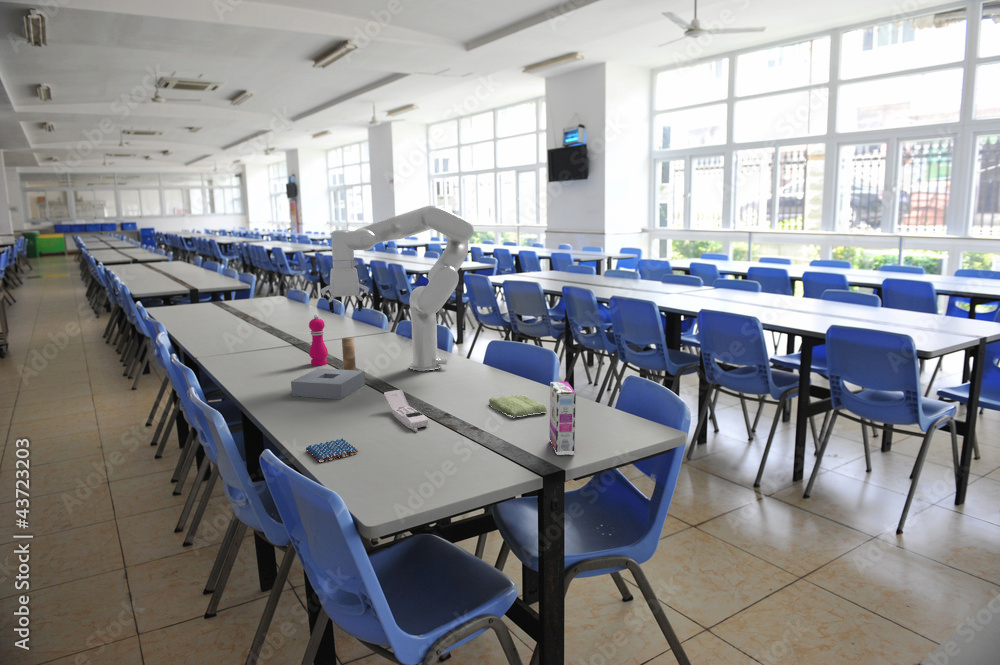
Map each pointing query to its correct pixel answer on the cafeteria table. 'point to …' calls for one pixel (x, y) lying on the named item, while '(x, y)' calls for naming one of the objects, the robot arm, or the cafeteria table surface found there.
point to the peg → (348, 353)
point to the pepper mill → (317, 342)
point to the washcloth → (517, 405)
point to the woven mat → (331, 450)
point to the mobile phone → (405, 410)
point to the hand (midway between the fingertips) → (346, 311)
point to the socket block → (328, 383)
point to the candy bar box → (562, 416)
